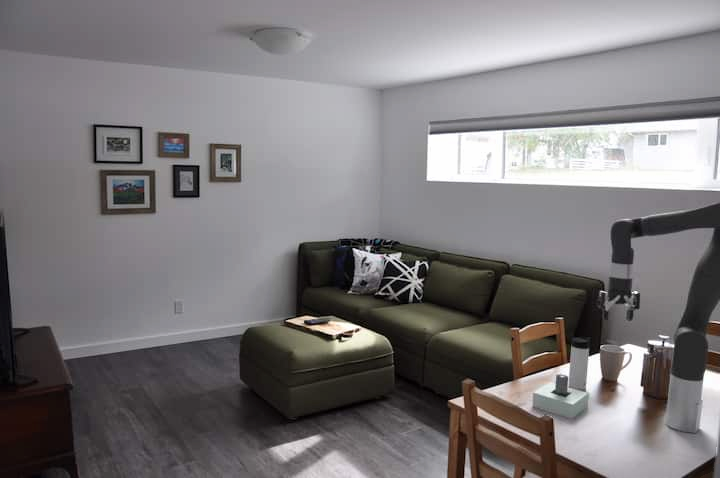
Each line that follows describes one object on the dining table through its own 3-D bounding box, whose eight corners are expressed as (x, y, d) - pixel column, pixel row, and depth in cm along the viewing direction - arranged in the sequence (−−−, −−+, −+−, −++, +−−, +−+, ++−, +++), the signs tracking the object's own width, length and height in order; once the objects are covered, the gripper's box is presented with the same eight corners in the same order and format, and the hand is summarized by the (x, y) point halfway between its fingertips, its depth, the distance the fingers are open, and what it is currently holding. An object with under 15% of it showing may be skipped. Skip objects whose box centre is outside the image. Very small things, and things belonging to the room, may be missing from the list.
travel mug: (589, 392, 209) (593, 340, 207) (571, 391, 209) (575, 340, 207) (582, 385, 215) (587, 335, 213) (565, 385, 215) (569, 335, 213)
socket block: (587, 406, 196) (588, 393, 195) (571, 418, 186) (573, 404, 185) (549, 395, 205) (550, 382, 205) (532, 406, 195) (533, 392, 194)
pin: (568, 403, 195) (570, 376, 194) (563, 407, 192) (565, 379, 191) (556, 400, 198) (559, 373, 197) (552, 403, 195) (554, 376, 194)
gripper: (634, 274, 200) (630, 317, 202) (596, 273, 199) (592, 317, 201) (646, 278, 192) (642, 323, 194) (606, 277, 192) (602, 323, 194)
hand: (617, 320), depth 198 cm, fingers open, 8 cm apart
